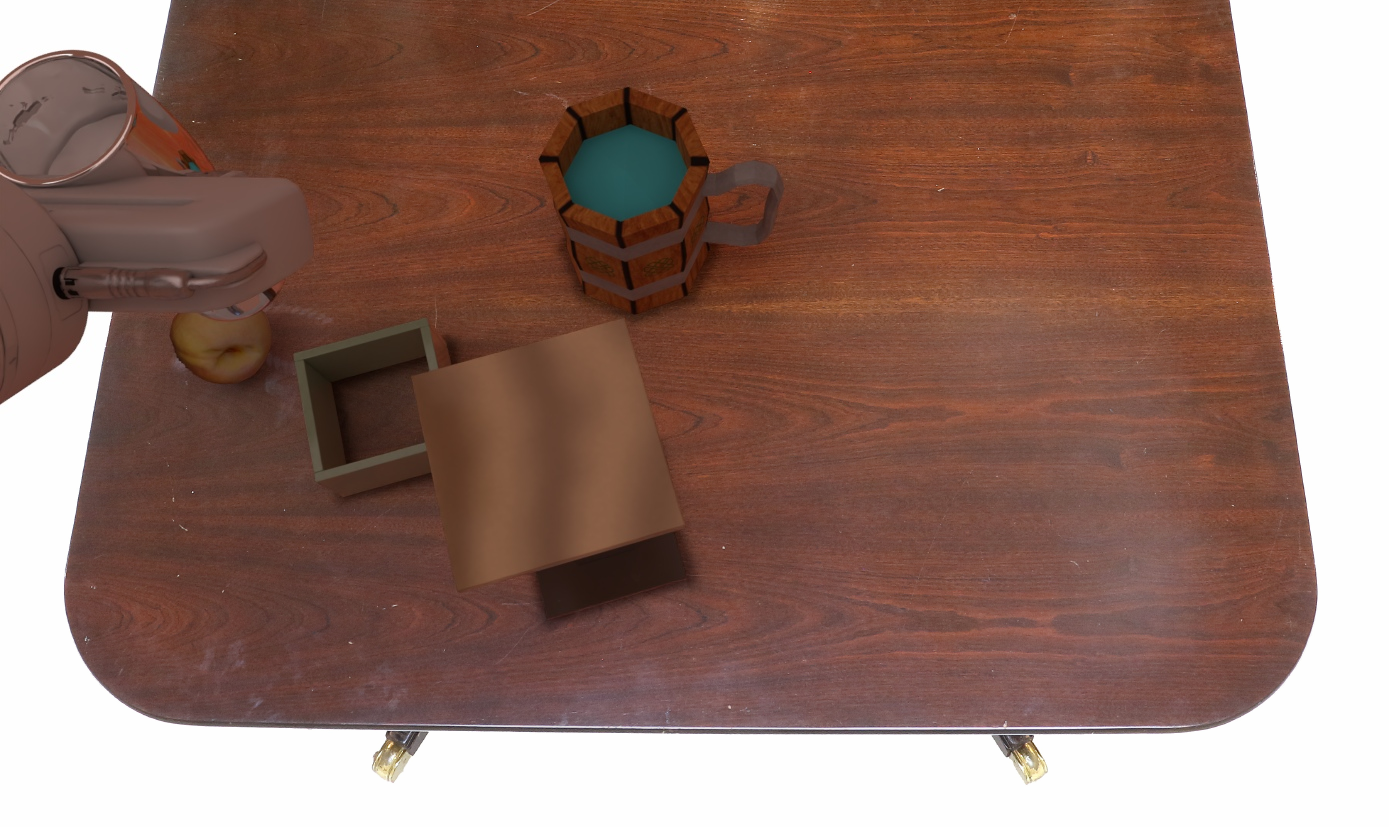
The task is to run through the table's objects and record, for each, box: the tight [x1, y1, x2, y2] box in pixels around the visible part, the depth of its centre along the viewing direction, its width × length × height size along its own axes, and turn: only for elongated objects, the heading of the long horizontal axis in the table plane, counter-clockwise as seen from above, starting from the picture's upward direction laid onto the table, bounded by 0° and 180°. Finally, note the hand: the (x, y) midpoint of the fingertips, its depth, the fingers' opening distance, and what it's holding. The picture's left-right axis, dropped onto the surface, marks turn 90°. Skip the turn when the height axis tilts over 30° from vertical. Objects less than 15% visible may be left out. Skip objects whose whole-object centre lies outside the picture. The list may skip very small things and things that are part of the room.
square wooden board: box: [410, 317, 686, 594], centre depth 54 cm, size 13×13×1 cm
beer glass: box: [0, 49, 287, 321], centre depth 46 cm, size 7×7×15 cm
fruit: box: [169, 310, 272, 385], centre depth 81 cm, size 8×8×8 cm
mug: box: [538, 86, 785, 315], centre depth 80 cm, size 20×14×15 cm
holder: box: [292, 316, 452, 498], centre depth 80 cm, size 12×12×6 cm
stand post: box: [535, 531, 688, 621], centre depth 67 cm, size 12×12×27 cm
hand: (151, 186), depth 45 cm, fingers closed on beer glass, 7 cm apart
